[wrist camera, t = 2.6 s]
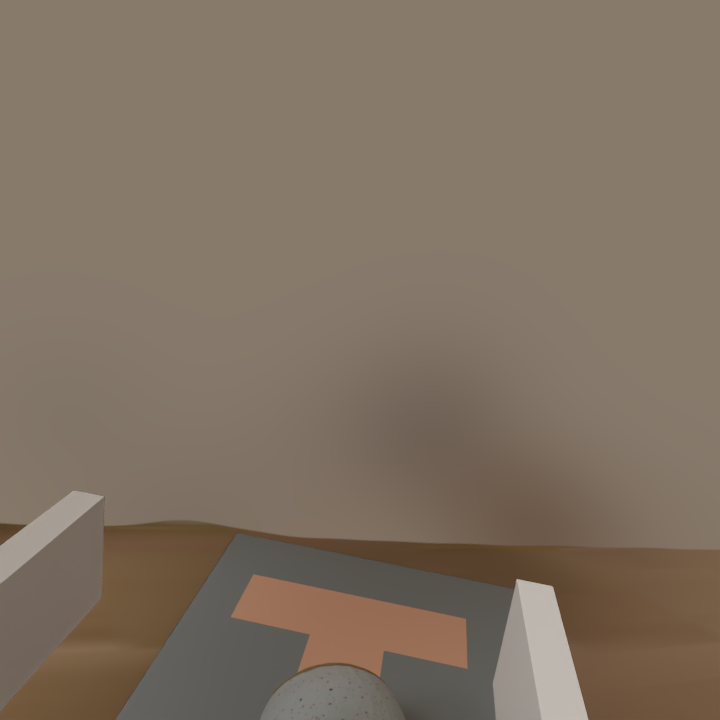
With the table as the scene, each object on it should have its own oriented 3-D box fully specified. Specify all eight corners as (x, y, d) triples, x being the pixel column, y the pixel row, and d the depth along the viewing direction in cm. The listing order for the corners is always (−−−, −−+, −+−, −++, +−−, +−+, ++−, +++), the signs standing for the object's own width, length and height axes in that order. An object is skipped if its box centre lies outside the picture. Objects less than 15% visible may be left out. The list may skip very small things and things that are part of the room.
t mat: (-35, 954, 23) (-35, 949, 23) (237, 534, 51) (237, 532, 51) (633, 1148, 20) (635, 1144, 20) (526, 593, 49) (527, 591, 49)
